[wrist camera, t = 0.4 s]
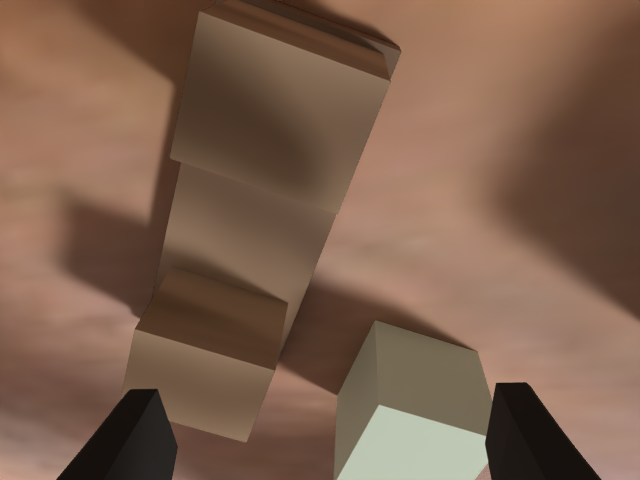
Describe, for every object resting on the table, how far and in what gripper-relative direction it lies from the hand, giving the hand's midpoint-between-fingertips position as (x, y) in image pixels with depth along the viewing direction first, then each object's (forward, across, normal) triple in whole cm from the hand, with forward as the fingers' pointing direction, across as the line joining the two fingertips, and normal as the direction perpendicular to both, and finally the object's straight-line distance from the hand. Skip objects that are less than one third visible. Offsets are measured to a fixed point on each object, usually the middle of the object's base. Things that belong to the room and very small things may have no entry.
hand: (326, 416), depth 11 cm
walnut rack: (+11, +3, +1) cm, 11 cm away
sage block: (+10, -3, +10) cm, 14 cm away
